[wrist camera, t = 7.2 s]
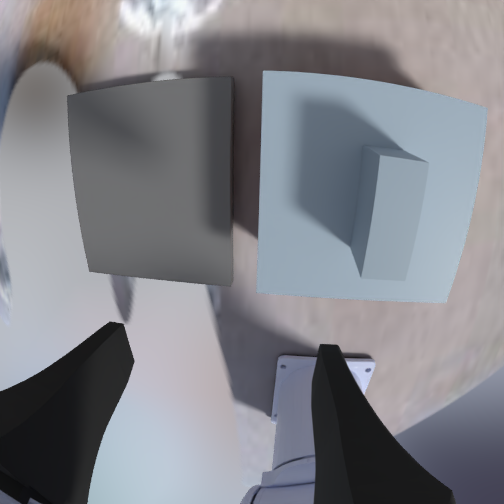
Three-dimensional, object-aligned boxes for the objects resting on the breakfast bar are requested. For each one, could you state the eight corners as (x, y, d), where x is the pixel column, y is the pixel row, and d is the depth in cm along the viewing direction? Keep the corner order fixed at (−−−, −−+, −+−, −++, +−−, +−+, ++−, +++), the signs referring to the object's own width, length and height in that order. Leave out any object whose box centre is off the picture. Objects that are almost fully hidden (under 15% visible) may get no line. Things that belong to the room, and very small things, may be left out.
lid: (441, 295, 17) (464, 335, 13) (257, 285, 18) (249, 328, 14) (479, 107, 12) (522, 113, 8) (264, 72, 13) (255, 61, 10)
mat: (232, 280, 22) (230, 286, 21) (94, 266, 23) (89, 271, 22) (233, 77, 16) (231, 76, 16) (74, 95, 17) (67, 95, 17)
